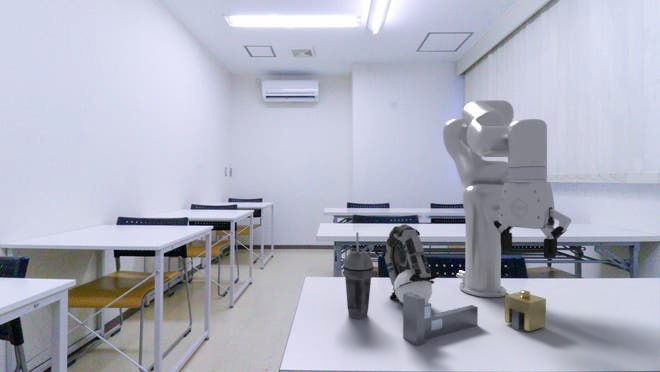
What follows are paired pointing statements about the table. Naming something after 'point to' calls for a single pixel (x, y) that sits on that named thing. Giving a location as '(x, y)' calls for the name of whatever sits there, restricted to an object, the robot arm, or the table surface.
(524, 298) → the tan box with knob
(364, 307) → the beverage cup
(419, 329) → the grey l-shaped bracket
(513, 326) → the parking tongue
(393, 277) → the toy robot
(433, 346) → the table surface
